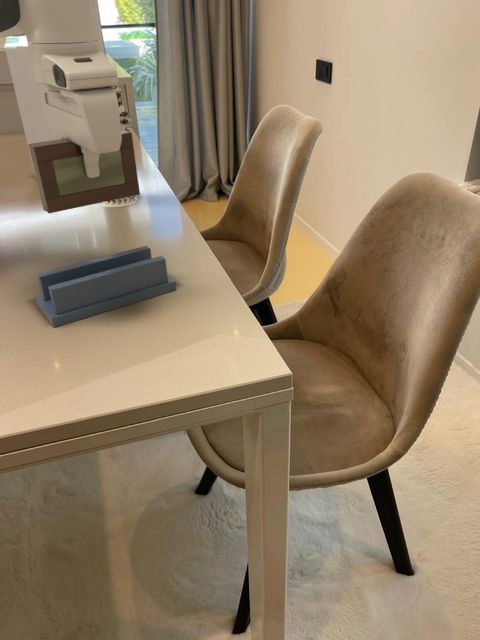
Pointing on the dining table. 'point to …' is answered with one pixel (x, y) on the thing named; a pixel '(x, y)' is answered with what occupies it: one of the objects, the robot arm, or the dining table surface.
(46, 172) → the frame
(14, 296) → the dining table surface
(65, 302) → the holder
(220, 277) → the dining table surface
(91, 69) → the robot arm
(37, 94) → the white tall rectangular block
